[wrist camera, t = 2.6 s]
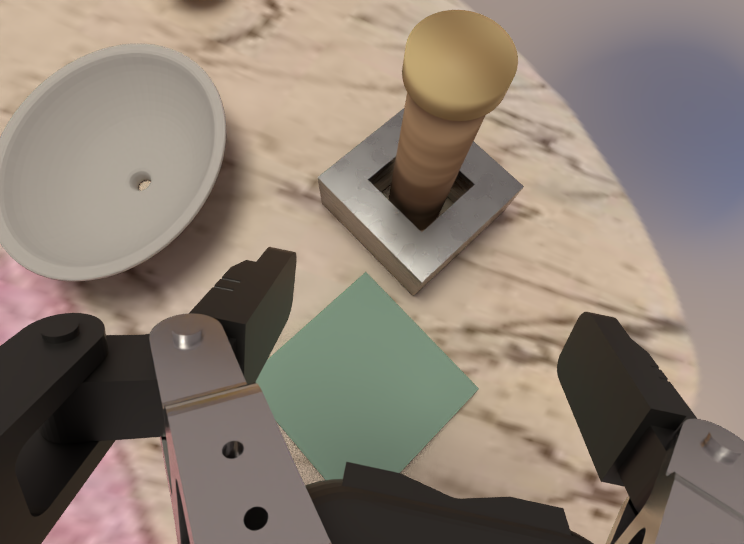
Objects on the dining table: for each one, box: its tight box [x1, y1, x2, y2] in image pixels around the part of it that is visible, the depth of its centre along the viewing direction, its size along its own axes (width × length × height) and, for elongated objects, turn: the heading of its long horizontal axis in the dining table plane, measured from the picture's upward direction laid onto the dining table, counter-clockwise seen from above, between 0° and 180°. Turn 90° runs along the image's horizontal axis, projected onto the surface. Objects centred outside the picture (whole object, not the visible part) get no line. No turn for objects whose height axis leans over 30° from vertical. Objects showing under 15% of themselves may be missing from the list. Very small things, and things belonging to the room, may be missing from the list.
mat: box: [256, 272, 479, 480], centre depth 28 cm, size 11×11×1 cm
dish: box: [0, 44, 226, 281], centre depth 29 cm, size 18×14×5 cm
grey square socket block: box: [318, 109, 524, 296], centre depth 30 cm, size 10×10×4 cm
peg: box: [389, 10, 518, 231], centre depth 25 cm, size 5×5×15 cm
